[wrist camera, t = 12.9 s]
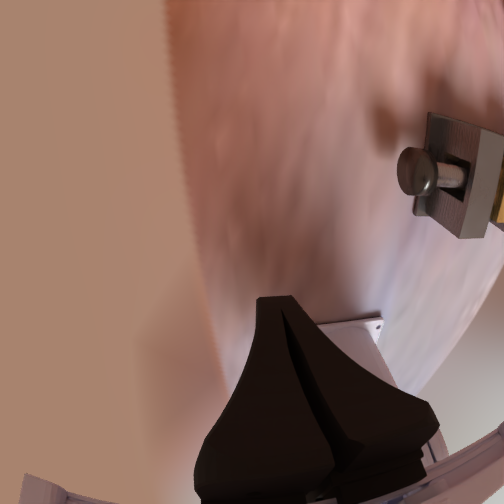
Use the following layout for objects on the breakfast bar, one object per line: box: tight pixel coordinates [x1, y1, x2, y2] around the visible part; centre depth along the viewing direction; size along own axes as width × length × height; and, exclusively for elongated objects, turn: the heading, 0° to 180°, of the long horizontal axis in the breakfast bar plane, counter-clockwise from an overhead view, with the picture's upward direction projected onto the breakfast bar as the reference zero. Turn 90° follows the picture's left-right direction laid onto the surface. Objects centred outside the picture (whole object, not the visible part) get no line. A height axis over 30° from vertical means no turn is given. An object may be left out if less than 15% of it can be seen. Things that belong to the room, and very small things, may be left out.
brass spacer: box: [465, 156, 504, 223], centre depth 17 cm, size 3×5×5 cm, turn 0°
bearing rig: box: [413, 112, 504, 239], centre depth 17 cm, size 12×8×5 cm, turn 90°
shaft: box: [397, 147, 470, 196], centre depth 16 cm, size 14×3×3 cm, turn 90°
